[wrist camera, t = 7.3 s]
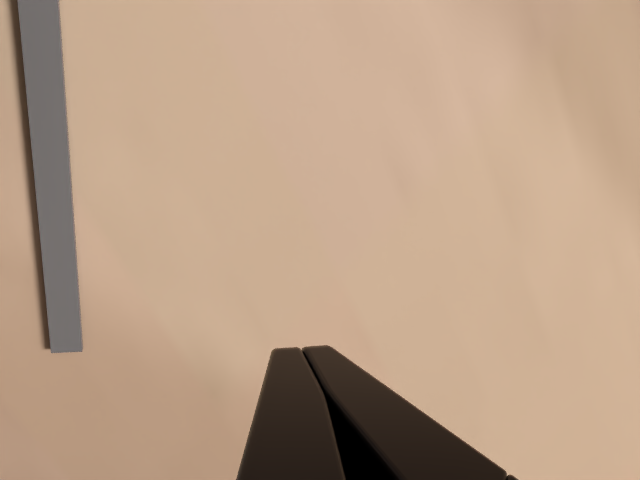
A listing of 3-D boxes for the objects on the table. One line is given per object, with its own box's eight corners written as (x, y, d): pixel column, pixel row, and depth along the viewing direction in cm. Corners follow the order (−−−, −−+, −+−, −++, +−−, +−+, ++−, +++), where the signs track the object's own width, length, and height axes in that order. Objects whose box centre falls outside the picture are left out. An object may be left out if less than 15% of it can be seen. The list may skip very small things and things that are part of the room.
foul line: (82, 348, 21) (81, 351, 21) (51, 349, 21) (51, 352, 20) (37, -311, 14) (35, -315, 13) (-12, -321, 13) (-14, -325, 13)
